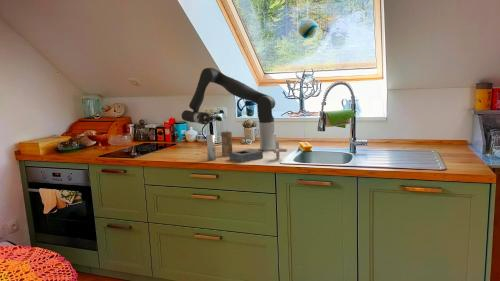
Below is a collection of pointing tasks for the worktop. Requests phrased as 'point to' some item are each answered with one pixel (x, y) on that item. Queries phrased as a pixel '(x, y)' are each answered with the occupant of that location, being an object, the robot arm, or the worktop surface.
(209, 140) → the round metal bit
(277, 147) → the pipe connector
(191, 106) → the robot arm
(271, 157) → the worktop surface
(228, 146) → the square walnut bit
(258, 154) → the socket block
